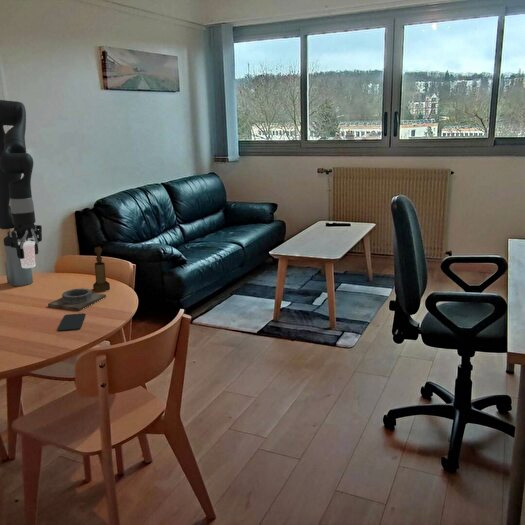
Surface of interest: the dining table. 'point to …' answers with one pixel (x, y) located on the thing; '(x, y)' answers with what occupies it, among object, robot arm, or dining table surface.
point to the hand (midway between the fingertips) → (28, 256)
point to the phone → (71, 322)
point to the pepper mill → (100, 273)
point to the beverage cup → (28, 255)
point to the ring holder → (76, 299)
